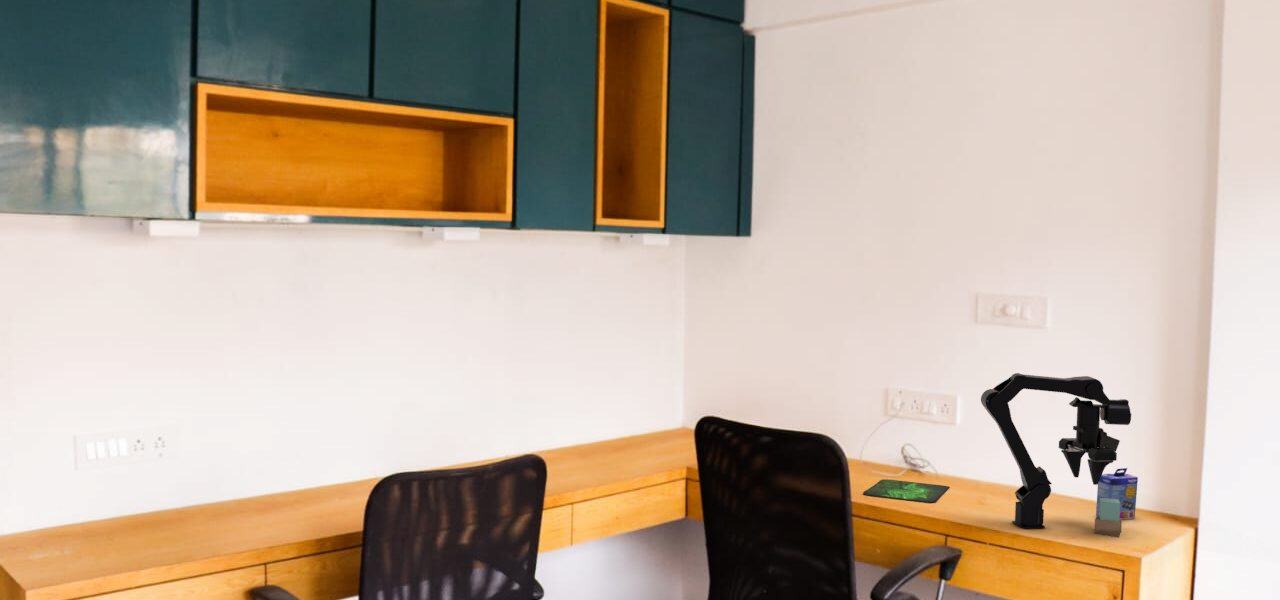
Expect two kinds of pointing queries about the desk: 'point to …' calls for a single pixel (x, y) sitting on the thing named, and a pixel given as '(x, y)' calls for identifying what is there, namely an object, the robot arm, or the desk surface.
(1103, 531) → the walnut block
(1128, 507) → the ink cartridge box
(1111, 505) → the teal block
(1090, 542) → the desk surface
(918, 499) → the mouse mat
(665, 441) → the desk surface
